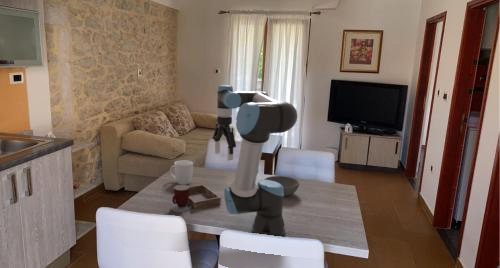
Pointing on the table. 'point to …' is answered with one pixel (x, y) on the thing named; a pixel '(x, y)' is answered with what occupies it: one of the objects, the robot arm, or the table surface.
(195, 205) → the caddy
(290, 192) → the bowl
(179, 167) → the mug
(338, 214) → the table surface
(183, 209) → the coaster
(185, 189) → the mug
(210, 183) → the table surface
